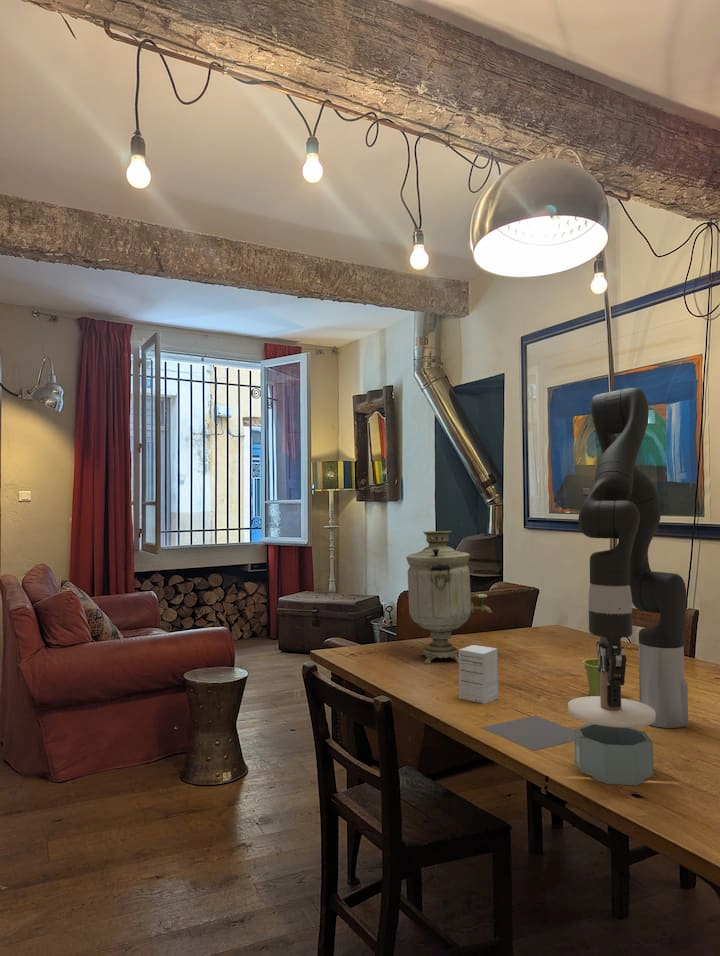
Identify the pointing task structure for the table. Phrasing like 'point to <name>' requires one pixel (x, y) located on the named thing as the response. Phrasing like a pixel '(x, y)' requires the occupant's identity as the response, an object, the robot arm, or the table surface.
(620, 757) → the bowl
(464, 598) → the samovar
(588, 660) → the plant pot
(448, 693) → the table surface
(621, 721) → the lid
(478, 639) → the table surface
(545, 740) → the mat
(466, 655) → the supplement box
